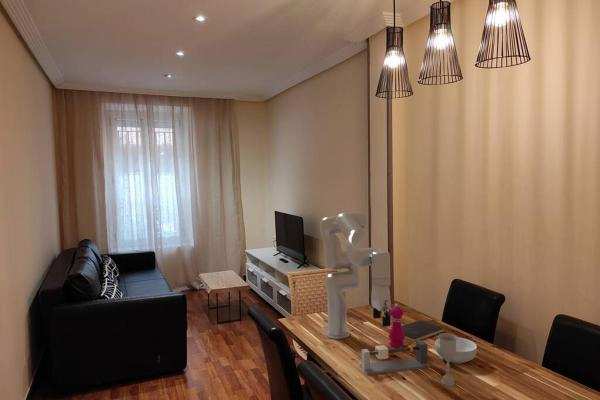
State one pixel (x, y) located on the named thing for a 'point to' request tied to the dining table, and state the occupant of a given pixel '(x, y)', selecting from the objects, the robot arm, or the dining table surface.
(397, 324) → the pepper mill
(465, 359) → the cereal bowl
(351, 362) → the dining table surface
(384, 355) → the sleeve
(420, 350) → the linear slide rail
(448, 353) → the chalice
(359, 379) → the dining table surface
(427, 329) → the hardcover book
